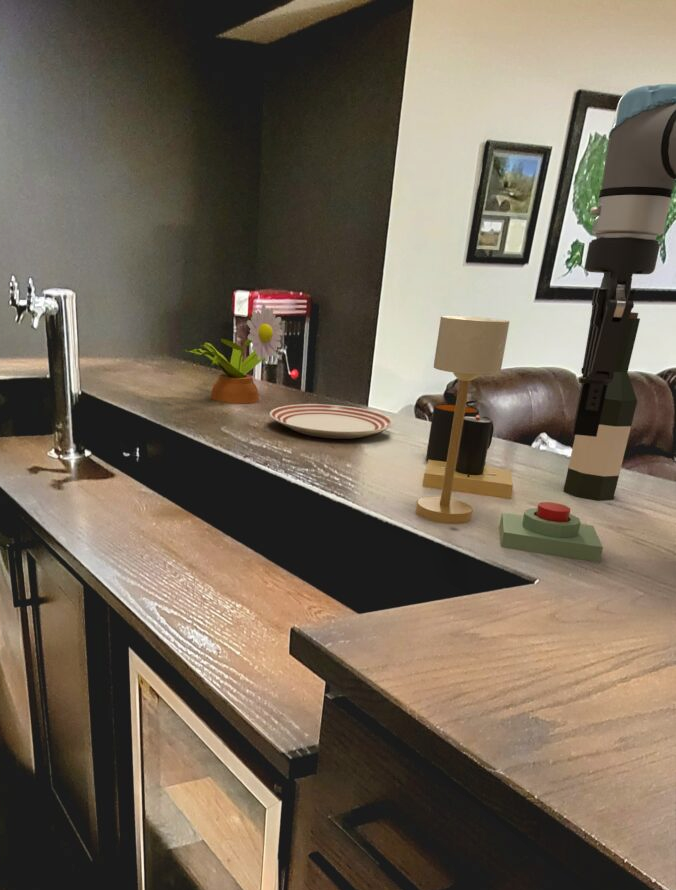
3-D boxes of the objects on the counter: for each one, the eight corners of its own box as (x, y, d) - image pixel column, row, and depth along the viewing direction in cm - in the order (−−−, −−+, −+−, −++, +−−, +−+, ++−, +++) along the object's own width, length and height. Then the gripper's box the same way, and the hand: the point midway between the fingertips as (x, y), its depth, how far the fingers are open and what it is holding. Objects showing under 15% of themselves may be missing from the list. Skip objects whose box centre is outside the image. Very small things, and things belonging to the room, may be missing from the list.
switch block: (589, 540, 101) (596, 513, 100) (599, 563, 93) (606, 534, 91) (499, 526, 104) (504, 500, 103) (500, 547, 96) (506, 519, 95)
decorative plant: (233, 410, 177) (240, 304, 169) (167, 394, 192) (169, 297, 184) (300, 400, 196) (309, 304, 188) (234, 387, 211) (240, 298, 203)
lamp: (474, 511, 111) (508, 319, 101) (473, 529, 103) (510, 322, 93) (414, 502, 113) (442, 314, 104) (409, 519, 105) (439, 317, 96)
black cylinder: (483, 476, 120) (493, 421, 117) (453, 472, 122) (462, 418, 119) (483, 469, 125) (492, 416, 122) (454, 466, 126) (463, 413, 123)
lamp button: (566, 516, 99) (568, 504, 98) (569, 525, 95) (572, 513, 94) (534, 512, 100) (537, 500, 99) (536, 521, 96) (539, 508, 96)
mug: (495, 468, 136) (505, 414, 133) (433, 465, 136) (442, 411, 132) (479, 457, 144) (488, 406, 141) (420, 454, 144) (428, 403, 140)
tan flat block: (508, 483, 127) (511, 469, 126) (510, 499, 118) (513, 483, 117) (426, 472, 131) (428, 458, 130) (422, 487, 122) (424, 472, 121)
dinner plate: (365, 451, 144) (367, 434, 143) (246, 429, 157) (247, 414, 156) (408, 430, 166) (410, 415, 165) (301, 412, 179) (302, 399, 178)
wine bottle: (553, 490, 124) (592, 310, 114) (574, 483, 129) (613, 310, 120) (603, 503, 118) (648, 314, 108) (622, 495, 124) (668, 314, 114)
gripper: (583, 240, 92) (548, 422, 100) (599, 233, 80) (557, 440, 88) (648, 242, 90) (607, 428, 97) (674, 235, 78) (625, 448, 86)
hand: (584, 434), depth 93 cm, fingers closed
